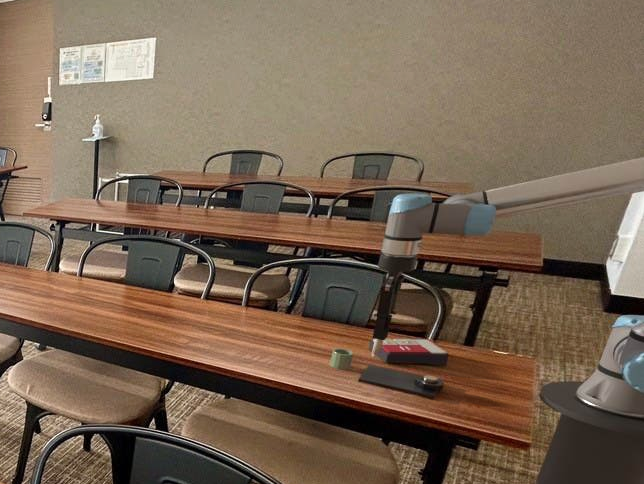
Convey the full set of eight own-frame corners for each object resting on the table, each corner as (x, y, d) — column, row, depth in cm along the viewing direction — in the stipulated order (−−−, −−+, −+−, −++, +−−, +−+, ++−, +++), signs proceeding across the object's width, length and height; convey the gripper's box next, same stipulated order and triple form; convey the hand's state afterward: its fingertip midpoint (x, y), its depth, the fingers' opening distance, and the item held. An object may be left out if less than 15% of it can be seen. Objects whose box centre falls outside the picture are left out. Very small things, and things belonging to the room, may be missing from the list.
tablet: (445, 384, 155) (447, 376, 155) (437, 400, 148) (440, 391, 147) (368, 368, 167) (370, 360, 166) (357, 382, 160) (359, 374, 159)
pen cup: (351, 366, 169) (355, 351, 167) (347, 372, 166) (350, 356, 164) (332, 362, 172) (335, 347, 171) (327, 367, 169) (331, 352, 168)
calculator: (370, 337, 178) (428, 337, 174) (367, 350, 179) (425, 350, 175) (388, 351, 168) (450, 352, 164) (385, 365, 169) (447, 365, 165)
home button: (437, 381, 153) (438, 377, 152) (435, 385, 151) (436, 380, 151) (423, 378, 155) (424, 374, 154) (421, 382, 153) (422, 377, 153)
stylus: (379, 356, 160) (391, 307, 155) (378, 358, 159) (390, 308, 154) (371, 355, 162) (383, 305, 156) (370, 357, 160) (381, 307, 155)
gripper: (412, 262, 143) (391, 349, 151) (422, 250, 152) (402, 332, 160) (374, 258, 148) (356, 342, 156) (387, 247, 157) (369, 327, 166)
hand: (379, 337), depth 158 cm, fingers closed on stylus, 2 cm apart
